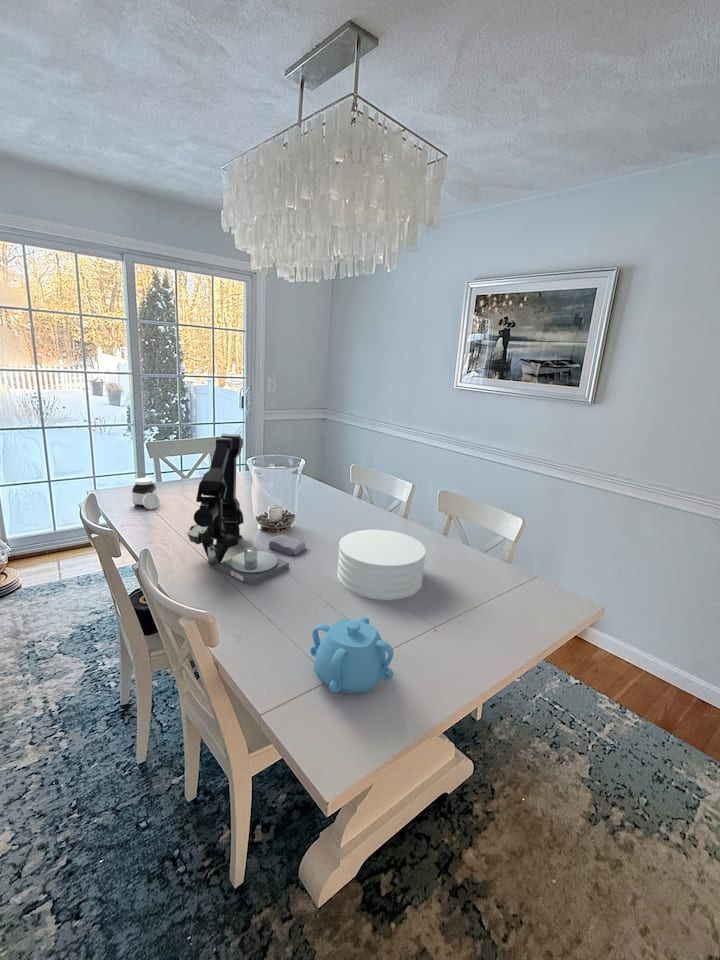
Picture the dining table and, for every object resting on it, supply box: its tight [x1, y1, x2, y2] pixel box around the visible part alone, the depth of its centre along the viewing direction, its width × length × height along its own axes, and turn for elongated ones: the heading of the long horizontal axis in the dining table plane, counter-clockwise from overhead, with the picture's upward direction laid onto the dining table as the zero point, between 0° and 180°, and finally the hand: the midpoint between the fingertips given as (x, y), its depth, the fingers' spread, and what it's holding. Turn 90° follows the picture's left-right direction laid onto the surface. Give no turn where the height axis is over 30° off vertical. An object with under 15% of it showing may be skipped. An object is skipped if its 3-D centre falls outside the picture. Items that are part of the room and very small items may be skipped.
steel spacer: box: [207, 543, 222, 566], centre depth 150 cm, size 4×4×6 cm
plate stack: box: [337, 529, 427, 601], centre depth 147 cm, size 28×28×12 cm
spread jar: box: [131, 477, 160, 510], centre depth 197 cm, size 12×11×12 cm
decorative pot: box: [309, 616, 394, 695], centre depth 100 cm, size 16×16×14 cm
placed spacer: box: [243, 547, 258, 570], centre depth 142 cm, size 4×4×6 cm
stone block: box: [268, 534, 306, 557], centre depth 166 cm, size 12×5×10 cm
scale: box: [218, 548, 290, 586], centre depth 148 cm, size 16×17×3 cm
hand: (214, 559), depth 151 cm, fingers open, 6 cm apart
